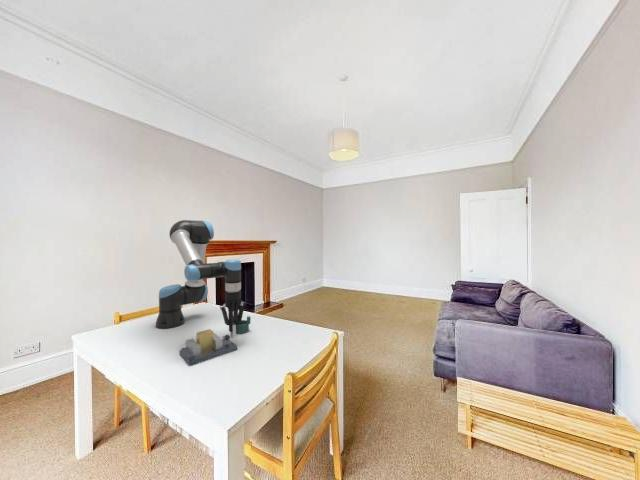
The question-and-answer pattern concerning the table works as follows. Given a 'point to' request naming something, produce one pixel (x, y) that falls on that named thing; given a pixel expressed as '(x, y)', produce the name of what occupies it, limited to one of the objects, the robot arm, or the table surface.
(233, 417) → the table surface
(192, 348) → the vise
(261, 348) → the table surface
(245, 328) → the bracket
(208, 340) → the brass block
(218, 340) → the free jaw
